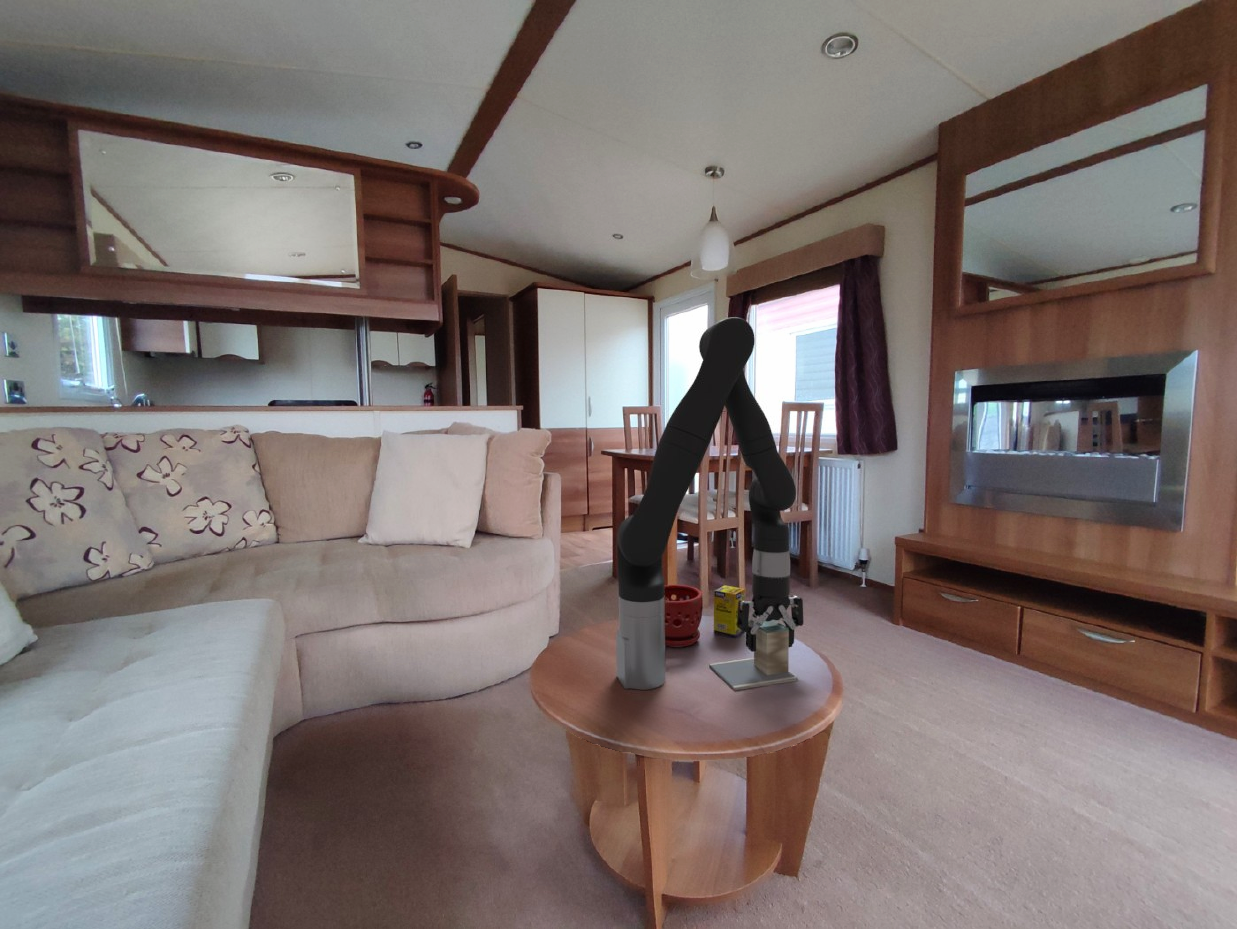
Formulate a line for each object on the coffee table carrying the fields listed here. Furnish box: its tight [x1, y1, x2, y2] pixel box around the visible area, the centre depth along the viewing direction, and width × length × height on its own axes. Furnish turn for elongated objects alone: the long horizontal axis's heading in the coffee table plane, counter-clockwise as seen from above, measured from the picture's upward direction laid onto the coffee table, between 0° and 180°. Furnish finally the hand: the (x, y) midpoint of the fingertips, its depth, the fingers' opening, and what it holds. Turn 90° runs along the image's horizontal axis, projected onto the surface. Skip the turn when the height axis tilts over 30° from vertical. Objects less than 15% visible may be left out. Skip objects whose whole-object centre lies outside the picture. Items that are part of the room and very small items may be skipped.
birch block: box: [753, 620, 790, 675], centre depth 107 cm, size 5×5×9 cm
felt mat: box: [708, 657, 799, 691], centre depth 106 cm, size 14×11×1 cm
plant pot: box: [664, 584, 704, 648], centre depth 124 cm, size 13×13×12 cm
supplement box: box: [713, 584, 746, 638], centre depth 129 cm, size 6×6×11 cm
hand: (770, 648), depth 107 cm, fingers open, 8 cm apart
